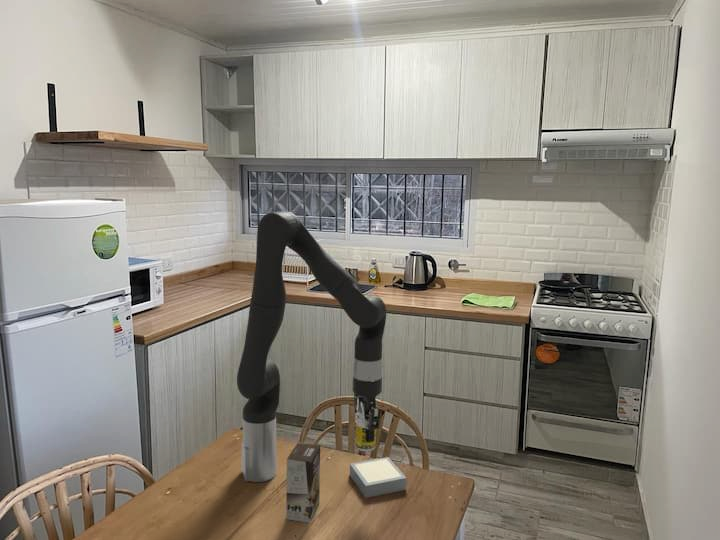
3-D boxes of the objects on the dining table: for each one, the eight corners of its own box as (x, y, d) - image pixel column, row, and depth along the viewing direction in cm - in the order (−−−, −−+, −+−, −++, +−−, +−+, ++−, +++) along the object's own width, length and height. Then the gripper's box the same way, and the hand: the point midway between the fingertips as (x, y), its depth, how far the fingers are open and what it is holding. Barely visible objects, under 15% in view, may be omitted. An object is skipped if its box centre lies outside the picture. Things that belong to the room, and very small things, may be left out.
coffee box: (310, 523, 132) (311, 462, 129) (285, 519, 133) (285, 458, 130) (320, 502, 141) (321, 444, 138) (297, 498, 142) (297, 441, 139)
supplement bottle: (360, 453, 137) (361, 417, 136) (351, 444, 142) (352, 409, 140) (379, 449, 139) (380, 414, 138) (369, 440, 144) (371, 406, 143)
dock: (365, 498, 143) (365, 485, 142) (349, 475, 154) (349, 463, 153) (406, 489, 147) (406, 477, 147) (387, 468, 158) (388, 456, 158)
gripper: (344, 366, 143) (343, 426, 146) (363, 385, 130) (361, 451, 132) (371, 364, 146) (369, 423, 148) (392, 382, 132) (389, 447, 135)
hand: (365, 436), depth 140 cm, fingers closed on supplement bottle, 5 cm apart
